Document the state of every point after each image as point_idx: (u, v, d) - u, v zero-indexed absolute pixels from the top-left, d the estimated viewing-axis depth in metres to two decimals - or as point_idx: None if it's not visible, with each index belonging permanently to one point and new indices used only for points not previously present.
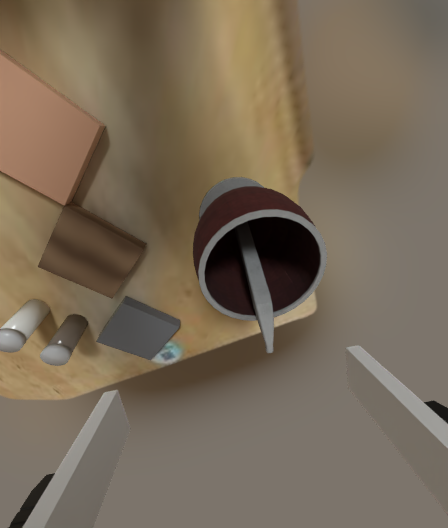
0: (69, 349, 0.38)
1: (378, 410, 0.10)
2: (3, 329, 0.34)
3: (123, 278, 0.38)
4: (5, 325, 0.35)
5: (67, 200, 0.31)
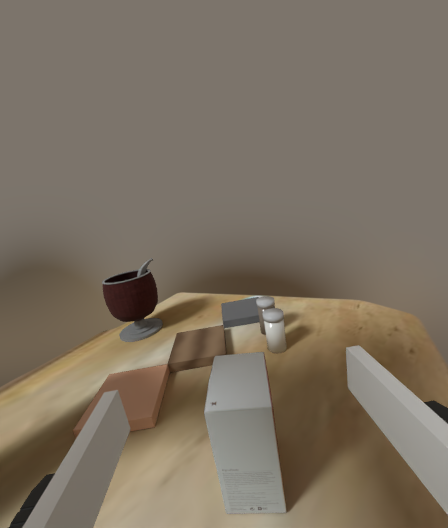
0: None
1: (378, 410, 0.10)
2: (266, 321, 0.45)
3: None
4: (269, 326, 0.45)
5: None
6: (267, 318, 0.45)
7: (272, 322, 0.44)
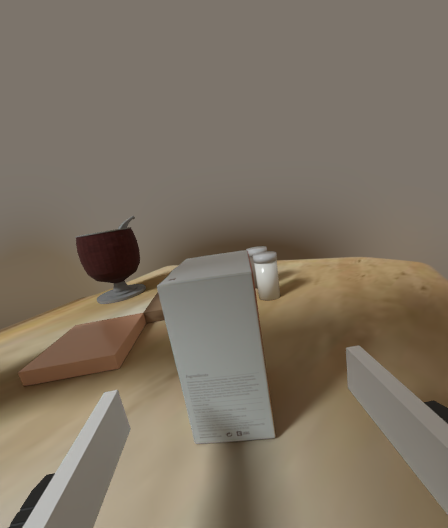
0: None
1: (378, 410, 0.10)
2: (257, 262, 0.39)
3: None
4: (260, 267, 0.39)
5: None
6: (257, 258, 0.39)
7: (263, 263, 0.39)
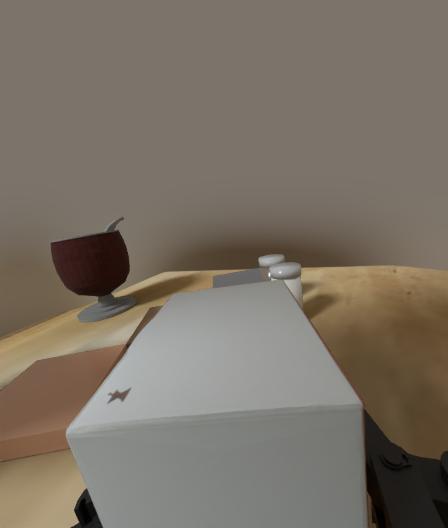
0: None
1: None
2: (276, 277, 0.30)
3: None
4: None
5: None
6: (277, 272, 0.29)
7: (285, 278, 0.29)
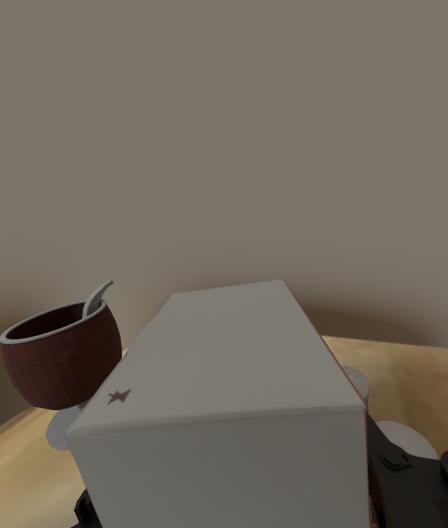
0: None
1: None
2: None
3: None
4: None
5: None
6: None
7: None
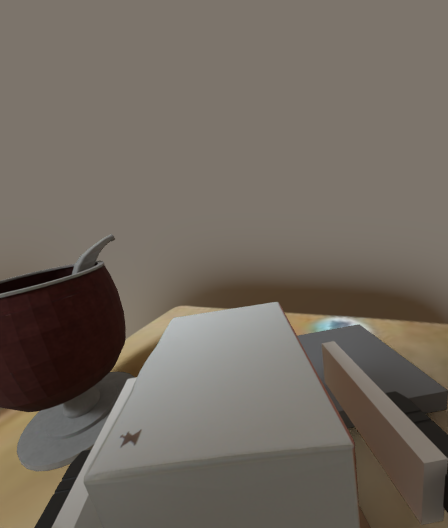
0: None
1: (347, 401, 0.11)
2: None
3: None
4: None
5: None
6: None
7: None
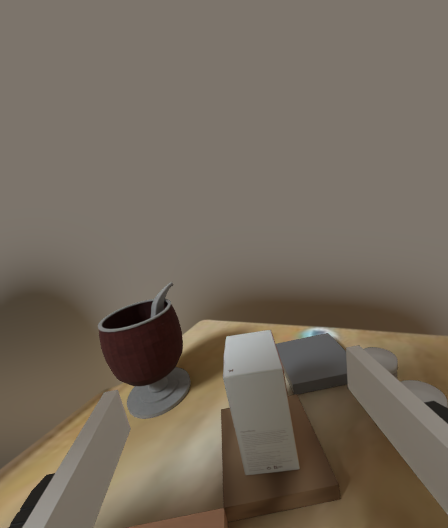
0: None
1: (378, 410, 0.10)
2: None
3: None
4: None
5: None
6: None
7: None
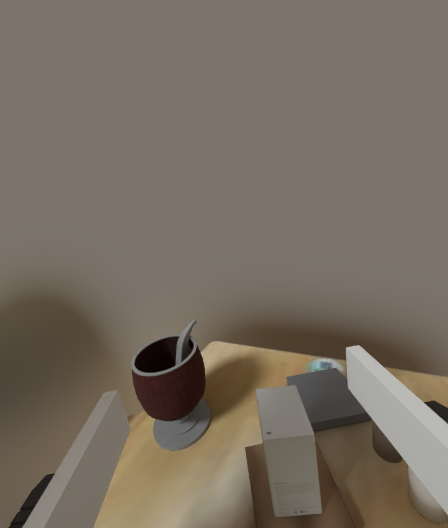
0: None
1: (377, 410, 0.10)
2: None
3: None
4: None
5: None
6: None
7: None
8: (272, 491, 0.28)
